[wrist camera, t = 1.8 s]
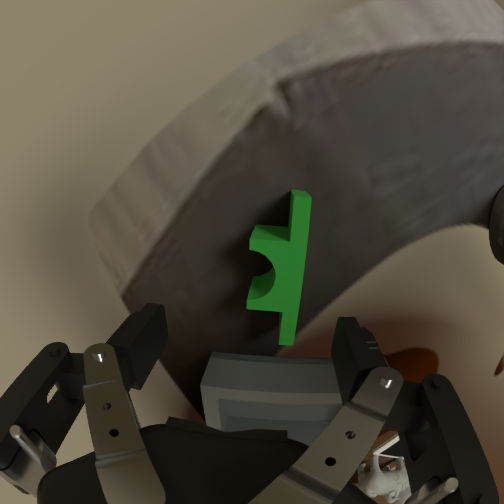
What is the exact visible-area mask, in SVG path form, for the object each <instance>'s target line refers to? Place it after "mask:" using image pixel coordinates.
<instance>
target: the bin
mask: <svg viewBox="0 0 504 504" xmlns="http://www.w3.org/2000/svg"><path fill="white" fill-rule="evenodd" d="M383 357H384V359H385V361H386V363H387V360H386V358H385V356H383ZM387 365H388V363H387ZM388 367H389V365H388ZM389 368H390V367H389ZM200 387H201V394H202V400H203V407H204V413H205V419H206V425H207V426H209V427H212V428H215V429H218V430H220V431H224V432H233V431H243V430H252V429H269V430H288V438H289V439H293V440H296V441H299V442H302V443H304V444H306V445H308V446H311V445H312V444H313V443H314V442H315V440H316V439H317V438H318V437H319V436H320V435H321V433H322V432H323V431H324V430H325V429H326V427H327V426H328V425H329V424H330V423H331V421H332V420H333V419H334V418H335V416H336V415H337V414H338V412H339V411H340V410H341V409H342V407H343V405H342V400H341V395H340V391H339V386H338V382H337V377H336V373H335V369H334V365H333V361H332V358H295V357H273V356H257V355H244V354H233V353H223V352H214V351H212V353H211V356H210V359H209V362H208V365H207V367H206V370H205V373H204V376H203V378H202V381H201V384H200Z"/></svg>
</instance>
